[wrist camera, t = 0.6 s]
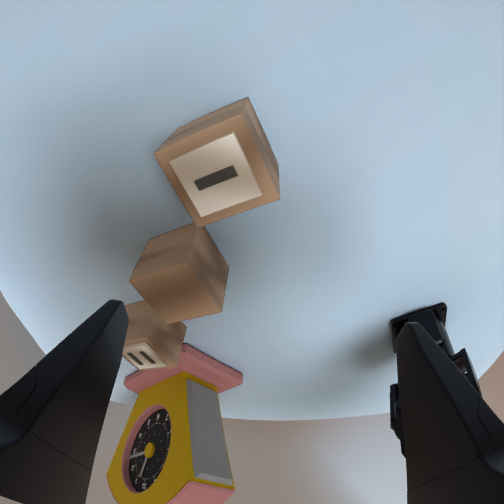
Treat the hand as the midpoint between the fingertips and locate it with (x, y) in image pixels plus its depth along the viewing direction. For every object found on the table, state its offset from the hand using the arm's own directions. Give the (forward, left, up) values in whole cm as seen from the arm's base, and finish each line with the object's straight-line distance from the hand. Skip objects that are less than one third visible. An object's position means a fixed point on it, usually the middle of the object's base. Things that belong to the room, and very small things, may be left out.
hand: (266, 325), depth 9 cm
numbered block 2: (+2, +2, -14) cm, 14 cm away
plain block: (-5, +9, -14) cm, 17 cm away
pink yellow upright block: (-23, +22, -14) cm, 35 cm away
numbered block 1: (-11, +17, -14) cm, 25 cm away
